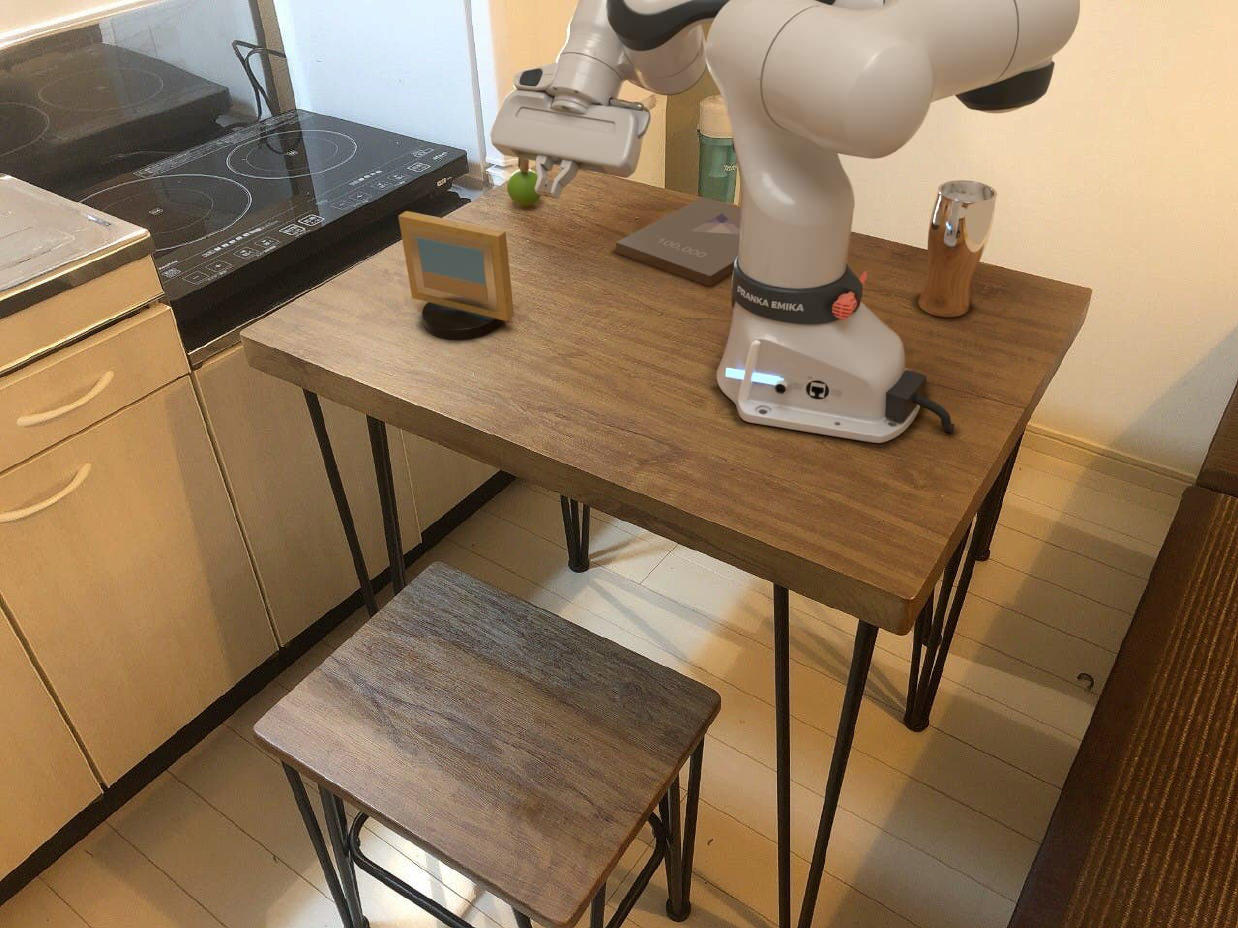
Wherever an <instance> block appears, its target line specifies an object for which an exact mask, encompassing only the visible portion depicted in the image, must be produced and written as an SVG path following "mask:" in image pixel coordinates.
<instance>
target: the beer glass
mask: <svg viewBox="0 0 1238 928" xmlns="http://www.w3.org/2000/svg"><path fill="white" fill-rule="evenodd" d="M997 196H998V192H997V190H996V189H995V188H994V187H992V186H990V185H988V184H986V183H982V182H979V181H975V180H965V179H958V180H957V179H956V180H950V181H946V182H943V183H941V184H940V185H939V186H938V188H937V192H936V196H935V199H934V203H933V207H932V210H931V214H930V219H929V226H928V231H927V232H928V233H927V272H926V279H925V284H924V286H923V288H922V291H921V294H920V296H919V298H918V301H917V302H918V303H917V304H918V307H919V308H920V309H921V310H922V311H923V312H925V313H927V314H929V315H931V316H934V317H939V318H957V317H962V316H963V315H965V314H966V313H967V312H968V311H969V309H970V290H971V284H972V281H973V278H974V275H975V272H976V270H977V268H978V266H979V263H980V261H981V259H982V257H983V254H984V251H985V249H986V246H987V244H988V242H989V238H990V235H991V231H992V226H993V221H994V215H995V208H996V201H997Z"/></svg>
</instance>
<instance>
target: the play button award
mask: <svg viewBox="0 0 1238 928" xmlns="http://www.w3.org/2000/svg"><path fill="white" fill-rule="evenodd" d="M740 218H741V207H737V206H733V205H730V204H727V203H725V202H721V201H718V200H714V199H711V198H707V197H704V196H701V197H699V198H698V199H696V200H693V201H692V202H690V203H688V204H686V205H684V206H682V207H680V208H679V209H676V210H675V211H672V212H671V213H669V214H667V215H665V216H663V217H662V218H659V219H657V220H655V221H653V222H651V223H650V224H648V225H646V226H644V227H642V228H640V229H639V230H636V231H635V232H633V233H631V234H629V235H627V236H625V237H623V238H621V239H619V240H617V241H615V253H616V254H619V255H622V256H623V257H627V258H629V259H633V260H635V261H638V262H641V263H644V264H645V265H649V266H651V267H654V268H657V269H660V270H663V271H665V272H667V273H668V272H669V273H670V274H673V275H676V276H678V277H681V278H684V279H688V280H690V281H692V282H695V283H699V284H701V285H704V286H707V287H712V286H713V285H715V284H717V283H718V282H720V281H722V280H723V279H725V278H727V277H729V276H730V275H731V274H733V270H734V263H735V259H736V258H737V257H739V242H740Z"/></svg>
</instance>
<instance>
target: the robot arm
mask: <svg viewBox="0 0 1238 928" xmlns="http://www.w3.org/2000/svg"><path fill="white" fill-rule="evenodd" d="M1080 12H1081V0H578V1H577V3H576V5H575V7H574V10H573V13H572V15H571V18H570V21H569V24H568V27H567V38H566V42H565V44H564V46H563V47H562V49H561V50H560V52H559V53H558V56H557V58H556V59H555V62H550V63H548V64H543V65H540V66H537V67H532V68H527V69H522V70H519V71H517V72H515V74H514V75H513V78H512V86H513V88H514V89H515V90H512V91H510V92H509V93H508V94H507V95H506V96H505V98H504V99H503V100H502V102H501V105H500V107H499V109H498V111H497V113H496V115H495V118H494V120H493V124H492V127H491V129H490V133H489V136H490V141H491V144H492V146H493V147H494V148H495V149H496V150H497V151H498V152H499V153H500V154H501V155H504V156H507V157H512V158H517V159H518V158H523V159H528V160H529V161H534V165H535V170H536V171H535V172H536V173H537V177H538V180H537V183H536V186H535V192H536V193H537V194H538V195H541V197H545V198H546V197H547V198H551V199H555V200H560V199H561V196H562V192H563V190H564V188H566V187H567V185H568V184H570V183H571V182H572V181H573V180H574V179H575V178H576V177H577V175H578V172H579V170H581V171H586V172H591V173H597V174H602V175H607V176H613V177H618V178H624V179H628V178H630V176H632V175H633V174H634V173H635V172H636V170H637V168H638V164H639V160H640V157H641V152H642V146H643V140H644V135H646V133H647V131H648V128H649V126H650V123H651V118H652V117H651V112H650V110H649V109H648V107H646V106H645V105H644V103H642V102H639V101H628V100H625V99H622V98H620V99H619V95H620V93H621V89H622V87H623V84H624V82H625V81H628V82H629V83H631V84H633V85H635V86H637V87H639V88H641V89H644V90H646V91H648V92H652V93H655V94H658V95H661V96H675V95H680V94H682V93H685V92H686V91H688V90H690V89H692V88H693V87H694V86H696V84H697V83H698V82H699V81H700V80H701V79H702V78H703V76H704V74H705V72H706V69H708V72H709V74H710V76H711V78H712V80H713V81H714V84H715V85H716V87H717V89H718V91H719V93H720V96H721V99H722V101H723V105H724V107H725V110H726V115H727V118H728V119H727V120H728V123H729V126H730V131H731V136H732V143H733V147H734V153H735V157H736V162H737V168H738V169H737V170H738V175H739V185H740V186H739V187H740V209H741V218H740V242H739V257H737V258H736V259H735V263H734V270H733V273H732V276H731V286H730V287H731V288H730V289H731V290H730V292H731V307H732V308H733V310H732V317H731V323H730V328H729V333H728V337H727V340H726V345H725V348H724V352H723V355H722V356H721V357H722V358H721V360H720V362H719V364H718V367H717V370H716V376H715V377H716V383H717V385H718V387H719V388H720V391H722V393H723V394H724V395H725V396H726V397H727V398H728V399H730V401H732V402H733V403H734V404H735V407H736V410H737V413H738V416H739V417H740V418H741V419H742V420H743V421H744V422H747V423H751V424H758V425H762V426H767V427H768V426H770V427H773V428H774V427H775V428H782V429H787V430H793V431H799V432H806V433H812V434H818V435H824V436H830V437H837V438H843V439H849V440H854V441H861V442H867V443H875V444H883V443H886V442H889V441H891V440H893V439H895V438H897V437H899V436H900V435H901V434H902V433H904V432H905V431H906V430H907V429H908V428H909V427H910V425H911V424H912V423H913V422H914V420H915V418H916V417H917V416H918V413H919V412H920V411H919V410H920V408H924V409H926V410H928V411H930V412H932V413H934V414H935V415H936V416H937V417H938V418H940V424H941V426H942V428H943V430H944V431H946V432H947V433H953V431H954V429H955V425H956V424H955V423H952V419H951V415H950V414H949V412H948V411H947V410H946V409H945V408H944V407H943V406H941V405H940V404H938V403H937V402H935V401H933V400H931V399H928V398H926V397H925V396H924V393H925V388H926V384H927V378H928V375H925V374H923V373H921V372H920V373H919V372H916V371H913V370H911V369H908V368H906V352H905V347H904V343H903V341H902V339H901V337H900V335H899V334H898V333H896V332H895V330H893V329H892V328H891V327H890V326H888V325H887V324H886V323H885V322H884V321H883V320H882V319H881V318H879V316H878V315H876V314H875V313H874V312H873V311H872V310H871V309H870V308H868V306H866V304H864V303H863V302H862V299H863V297H862V296H863V289H864V287H865V285H866V280H867V273H868V272H867V271H866V270H865V271H863V272H862V273H861V275H860V276H859V277H857V275H856V274H855V273H854V271H853V270H852V269H851V267H850V265H849V263H848V256H849V249H850V241H851V234H852V228H853V227H852V226H853V220H854V212H855V206H856V200H855V199H856V198H855V190H854V188H853V185H852V181H851V179H850V177H849V175H848V174H847V172H846V170H845V169H844V166H843V164H842V161H841V159H840V156H839V154H840V155H844V156H849V157H850V156H851V157H857V158H863V159H871V160H876V159H882V158H886V157H888V156H891V155H892V154H894V153H896V152H898V151H899V150H900V149H902V148H903V147H904V146H905V145H906V144H907V143H909V142H910V141H911V139H913V138H914V136H915V135H916V134H917V132H918V131H919V129H921V127H922V125H923V124H924V122H925V120H926V118H927V116H928V114H929V110H930V108H931V105H932V103H934V102H937V101H940V100H943V99H947V98H951V97H953V96H955V97H956V98H957V100H959V102H960V103H962V104H963V106H965V107H966V108H967V109H969V110H972V111H978V112H983V113H987V114H1007V113H1011V112H1015V111H1018V110H1019V109H1022V108H1024V107H1026V106H1030V105H1033V104H1035V103H1036V102H1038V101H1039V100H1040V99H1041V98H1042V97H1043V96H1045V95H1046V94H1047V92H1048V89H1049V87H1050V83H1051V81H1052V77H1053V74H1054V69H1055V65H1056V63H1055V62H1054V61H1053V57H1054V56H1055V55H1056V54H1058V53H1059V52H1060V51H1061V50H1062V49H1063V48H1064V47H1066V45H1067V44H1068V42H1070V40H1071V38H1072V36H1073V35H1074V33H1075V30H1076V29H1077V25H1078V22H1079V19H1080ZM705 24H711V25H710V27H709V31H708V34H707V38H706V37H705V34H704V33H705V32H704V30H703V27H702V25H705ZM554 166H559V167H560V168H561V171H560V172H559V173H558V175H556V176H555V178H553V179H549V176H548V172H552V171H553V167H554Z"/></svg>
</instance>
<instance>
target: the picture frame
mask: <svg viewBox="0 0 1238 928" xmlns="http://www.w3.org/2000/svg"><path fill="white" fill-rule="evenodd" d="M397 216H398V221H399V222H398V223H399V228H400V234H401V241H402V247H403V252H404V257H405V264H406V269H407V275H408V276H407V277H408V281H409V288H410V294H411V298H412V299H414V300H418V301H422V302H425V303H428V302H430V303H434V304H438V305H442V306H446V307H450V308H454V309H458V310H463V311H467V312H471V313H475V314H479V315H483V316H487V317H491V318H496V319H500V320H503V322H508V321H509V320H511V319H512V318H513V317H514V316H515V314H514V313H515V312H514V311H515V310H514V303H513V302H514V301H513V291H512V282H511V272H510V262H509V261H510V260H509V252H508V251H509V249H508V241H507V232H506V230H501V229H497V228H493V227H487V226H482V225H478V224H473V223H467V222H464V221H463V222H462V221H459V220H454V219H448V218H443V217H438V216H433V215H430V214H429V215H428V214H423V213H419V212H414V211H409V210H406V211H403V212H402V213H401V214H399V215H397Z"/></svg>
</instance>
